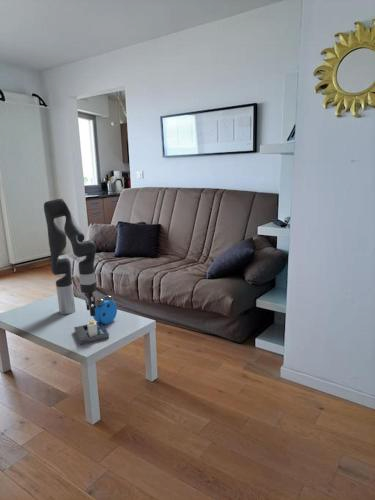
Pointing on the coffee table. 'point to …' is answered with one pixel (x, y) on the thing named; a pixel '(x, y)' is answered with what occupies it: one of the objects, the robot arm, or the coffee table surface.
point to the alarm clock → (105, 310)
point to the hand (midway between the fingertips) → (91, 312)
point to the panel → (84, 339)
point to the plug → (92, 329)
